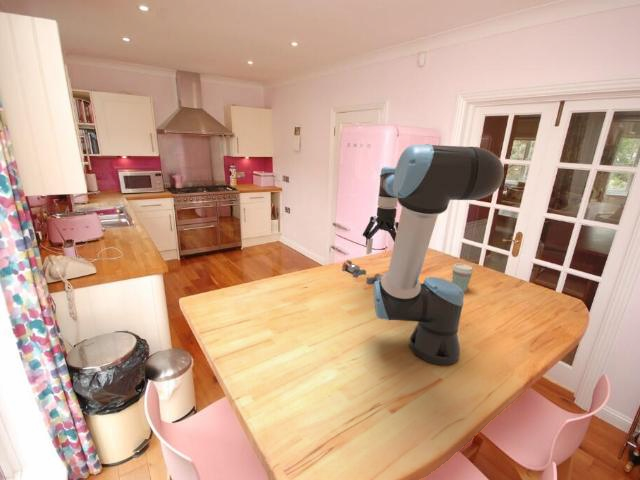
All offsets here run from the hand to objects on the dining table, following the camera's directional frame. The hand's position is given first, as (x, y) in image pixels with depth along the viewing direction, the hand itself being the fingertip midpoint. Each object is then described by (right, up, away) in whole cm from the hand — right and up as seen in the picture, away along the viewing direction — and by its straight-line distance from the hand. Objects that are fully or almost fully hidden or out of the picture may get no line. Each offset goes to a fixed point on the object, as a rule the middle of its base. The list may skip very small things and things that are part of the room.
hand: (381, 257), depth 124 cm
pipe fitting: (-3, -12, +20) cm, 24 cm away
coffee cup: (+38, -16, +13) cm, 43 cm away
